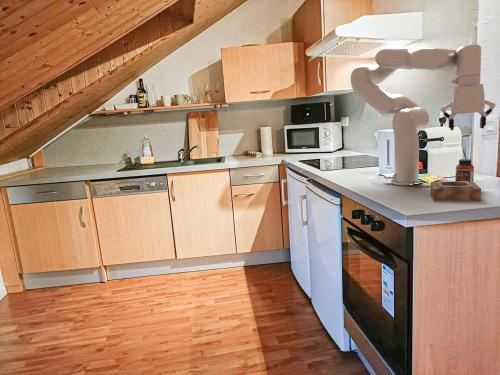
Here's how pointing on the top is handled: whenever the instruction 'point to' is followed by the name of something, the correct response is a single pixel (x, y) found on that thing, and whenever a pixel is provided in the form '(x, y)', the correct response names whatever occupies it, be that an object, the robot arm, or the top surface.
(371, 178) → the top surface
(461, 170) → the supplement bottle
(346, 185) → the top surface
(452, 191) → the jig
